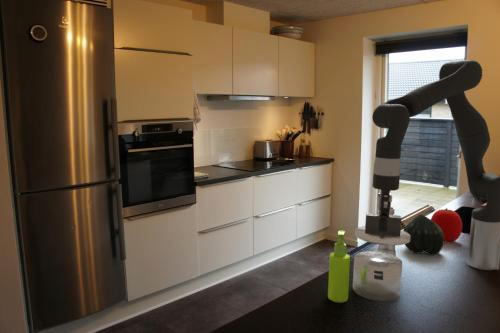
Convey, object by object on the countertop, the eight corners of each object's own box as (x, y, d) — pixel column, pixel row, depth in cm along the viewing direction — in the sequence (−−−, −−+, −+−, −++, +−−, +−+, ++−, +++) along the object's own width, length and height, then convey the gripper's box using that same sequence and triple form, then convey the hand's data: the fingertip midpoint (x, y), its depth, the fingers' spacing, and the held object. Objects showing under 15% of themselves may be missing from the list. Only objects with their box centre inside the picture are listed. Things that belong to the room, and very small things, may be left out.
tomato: (424, 240, 175) (427, 207, 173) (432, 234, 184) (435, 203, 182) (456, 247, 167) (459, 213, 165) (463, 240, 176) (467, 208, 174)
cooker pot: (397, 279, 136) (399, 250, 134) (402, 309, 116) (405, 275, 115) (353, 274, 140) (355, 245, 138) (351, 302, 120) (353, 269, 118)
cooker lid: (407, 231, 130) (409, 211, 130) (413, 248, 115) (415, 225, 114) (355, 226, 135) (356, 207, 134) (354, 241, 119) (355, 219, 118)
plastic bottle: (396, 265, 148) (400, 210, 145) (377, 263, 149) (380, 209, 146) (394, 258, 154) (397, 206, 151) (375, 257, 155) (378, 205, 152)
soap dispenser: (349, 293, 125) (352, 229, 122) (346, 303, 119) (350, 236, 116) (329, 290, 127) (332, 227, 124) (326, 300, 121) (329, 234, 118)
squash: (439, 249, 149) (444, 212, 156) (396, 243, 157) (403, 208, 164) (442, 264, 159) (447, 230, 166) (402, 258, 167) (408, 225, 174)
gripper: (402, 177, 114) (397, 237, 117) (398, 170, 128) (393, 224, 130) (373, 175, 116) (369, 234, 119) (372, 168, 130) (369, 221, 132)
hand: (382, 229), depth 125 cm, fingers closed on cooker lid, 3 cm apart
